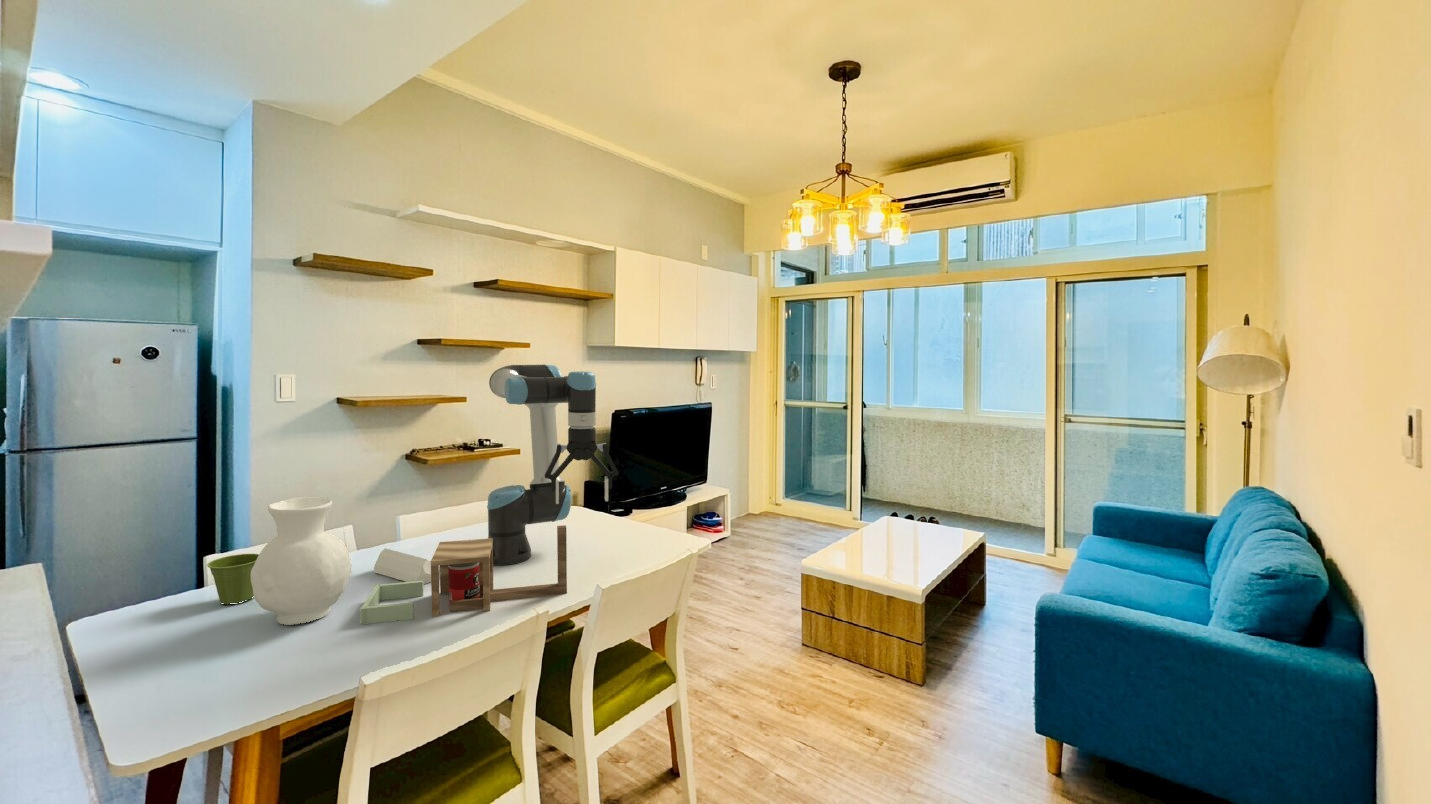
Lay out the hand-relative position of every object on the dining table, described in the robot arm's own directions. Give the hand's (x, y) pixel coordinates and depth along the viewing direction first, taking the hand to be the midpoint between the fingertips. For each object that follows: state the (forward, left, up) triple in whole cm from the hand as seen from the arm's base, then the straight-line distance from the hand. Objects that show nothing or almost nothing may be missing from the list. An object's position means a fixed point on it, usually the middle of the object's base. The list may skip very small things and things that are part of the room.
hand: (582, 501), depth 172 cm
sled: (-2, -19, -26) cm, 33 cm away
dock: (-2, -49, -26) cm, 55 cm away
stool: (-2, -32, -26) cm, 41 cm away
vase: (-2, -70, -27) cm, 74 cm away
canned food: (-2, -32, -27) cm, 41 cm away
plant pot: (-19, -91, -27) cm, 96 cm away
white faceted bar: (-27, -50, -27) cm, 63 cm away
